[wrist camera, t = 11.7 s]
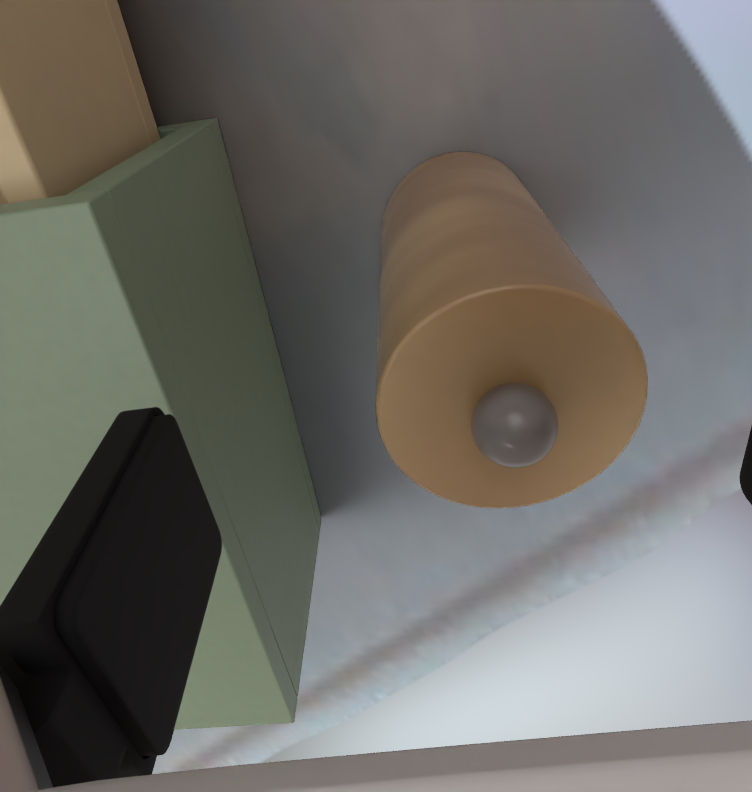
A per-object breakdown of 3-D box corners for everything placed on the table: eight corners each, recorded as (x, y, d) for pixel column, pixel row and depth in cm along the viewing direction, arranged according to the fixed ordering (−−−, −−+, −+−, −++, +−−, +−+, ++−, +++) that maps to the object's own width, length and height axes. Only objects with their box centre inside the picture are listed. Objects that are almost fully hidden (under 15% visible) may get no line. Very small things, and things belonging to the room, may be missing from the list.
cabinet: (-233, 186, 18) (-645, 305, 11) (217, 117, 17) (88, 201, 10) (8, 545, 27) (-134, 747, 19) (321, 518, 25) (294, 723, 18)
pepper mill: (373, 290, 20) (358, 540, 10) (392, 141, 17) (396, 297, 8) (511, 307, 20) (615, 566, 11) (551, 162, 17) (730, 338, 8)
